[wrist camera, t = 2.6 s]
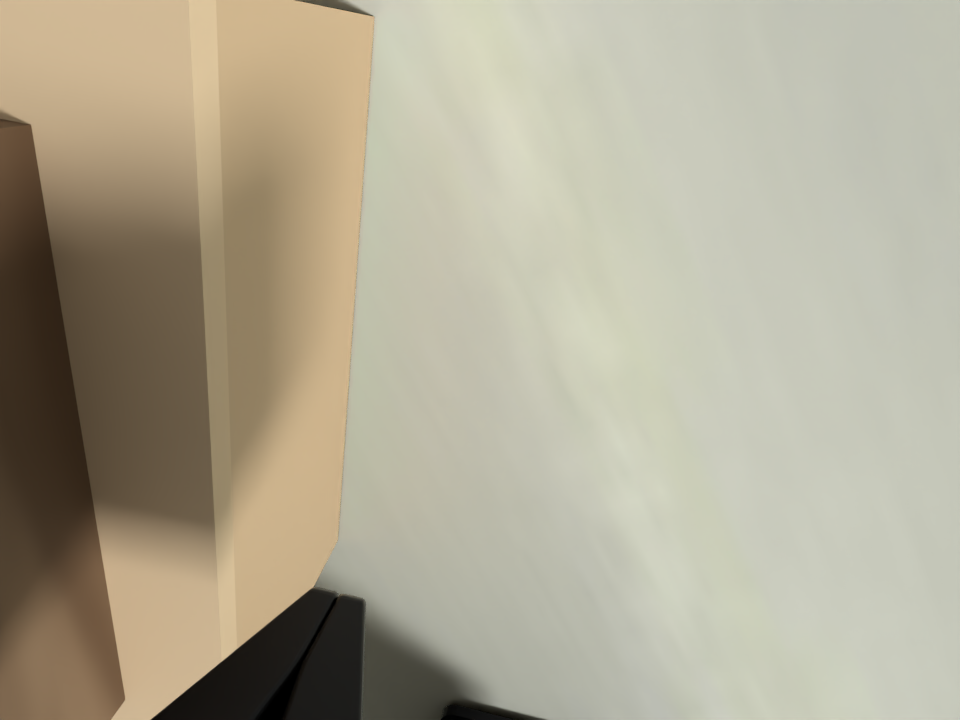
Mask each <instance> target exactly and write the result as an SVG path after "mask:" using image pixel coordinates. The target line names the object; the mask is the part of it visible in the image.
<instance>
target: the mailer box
mask: <svg viewBox="0 0 960 720" xmlns="http://www.w3.org/2000/svg"><path fill="white" fill-rule="evenodd" d="M216 14H217V45H218V76H219V107H220V138H221V168H222V199H223V230H224V261H225V292H226V323H227V353H228V384H229V415H230V446H231V477H232V508H233V538H234V569H235V600H236V631H237V649H238V648H239V647H240V646H241V645H242V644H244V643H245V642H246V641H247V640H249V639H250V638H251V637H252V636H253V635H255V634H256V633H257V632H258V631H260V630H261V629H262V628H263V627H264V626H266V625H267V624H268V623H269V622H271V621H272V620H273V619H274V618H275V617H277V616H278V615H279V614H280V613H282V612H283V611H284V610H285V609H286V608H288V607H289V606H290V605H291V604H293V603H294V602H295V601H296V600H297V599H299V598H300V597H301V596H302V595H304V594H305V593H306V592H307V591H308V590H310V589H311V588H313V587H314V585H315V583H316V581H317V579H318V577H319V575H320V574H321V572H322V570H323V568H324V566H325V564H326V562H327V560H328V558H329V556H330V554H331V552H332V551H333V549H334V547H335V545H336V543H337V541H338V532H339V518H340V503H341V489H342V475H343V460H344V446H345V432H346V417H347V403H348V389H349V374H350V360H351V346H352V331H353V317H354V303H355V289H356V274H357V260H358V246H359V231H360V217H361V203H362V188H363V174H364V160H365V145H366V131H367V117H368V103H369V88H370V74H371V60H372V45H373V31H374V17H373V16H368V15H363V14H358V13H354V12H349V11H344V10H339V9H334V8H329V7H324V6H320V5H315V4H310V3H305V2H300V1H295V0H216Z"/></svg>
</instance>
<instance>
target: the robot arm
mask: <svg viewBox="0 0 960 720" xmlns="http://www.w3.org/2000/svg"><path fill="white" fill-rule="evenodd" d="M365 612H366V602H365V600H364V599H363V598H359V597H355V596H351V595H347V594H341V595H340V596H339V594H338V593H337V592H335V591H331V590H327V589H323V588H319V587H314V588H311V589H310V590H308V591H307V592H306V593H305V594H304V595H302V596H301V597H300V598H299V599H297V600H296V601H295V602H294V603H293V604H291V605H290V606H289V607H288V608H286V609H285V610H284V611H283V612H282V613H280V614H279V615H278V616H277V617H275V618H274V619H273V620H272V621H271V622H269V623H268V624H267V625H266V626H264V627H263V628H262V629H261V630H260V631H258V632H257V633H256V634H255V635H253V636H252V637H251V638H250V639H249V640H247V641H246V642H245V643H244V644H242V645H241V646H240V647H239V648H238V649H236V650H235V651H234V652H233V653H231V654H230V655H229V656H228V657H227V658H225V659H224V660H223V661H222V662H220V663H219V664H218V665H217V666H216V667H214V668H213V669H212V670H211V671H209V672H208V673H207V674H206V675H205V676H203V677H202V678H201V679H200V680H198V681H197V682H196V683H195V684H194V685H192V686H191V687H190V688H189V689H187V690H186V691H185V692H184V693H183V694H181V695H180V696H179V697H178V698H176V699H175V700H174V701H173V702H172V703H170V704H169V705H168V706H167V707H165V708H164V709H163V710H162V711H160V712H159V713H158V714H157V715H156V716H154V717H153V718H152V719H151V720H362V712H363V679H364V646H365ZM441 720H513V719H509V718H505V717H501V716H497V715H493V714H489V713H485V712H481V711H477V710H473V709H469V708H465V707H461V706H458V705H449V706H447V707H445V708H444V710H443V714H442V718H441Z"/></svg>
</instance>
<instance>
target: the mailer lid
mask: <svg viewBox="0 0 960 720" xmlns="http://www.w3.org/2000/svg"><path fill="white" fill-rule="evenodd" d="M236 649H237V631H236V600H235V569H234V538H233V508H232V477H231V446H230V415H229V384H228V353H227V323H226V292H225V261H224V230H223V199H222V168H221V138H220V107H219V76H218V45H217V14H216V0H0V720H151V719H152V718H153V717H154V716H156V715H157V714H158V713H159V712H160V711H162V710H163V709H164V708H165V707H167V706H168V705H169V704H170V703H172V702H173V701H174V700H175V699H176V698H178V697H179V696H180V695H181V694H183V693H184V692H185V691H186V690H187V689H189V688H190V687H191V686H192V685H194V684H195V683H196V682H197V681H198V680H200V679H201V678H202V677H203V676H205V675H206V674H207V673H208V672H209V671H211V670H212V669H213V668H214V667H216V666H217V665H218V664H219V663H220V662H222V661H223V660H224V659H225V658H227V657H228V656H229V655H230V654H231V653H233V652H234V651H235V650H236Z"/></svg>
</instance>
